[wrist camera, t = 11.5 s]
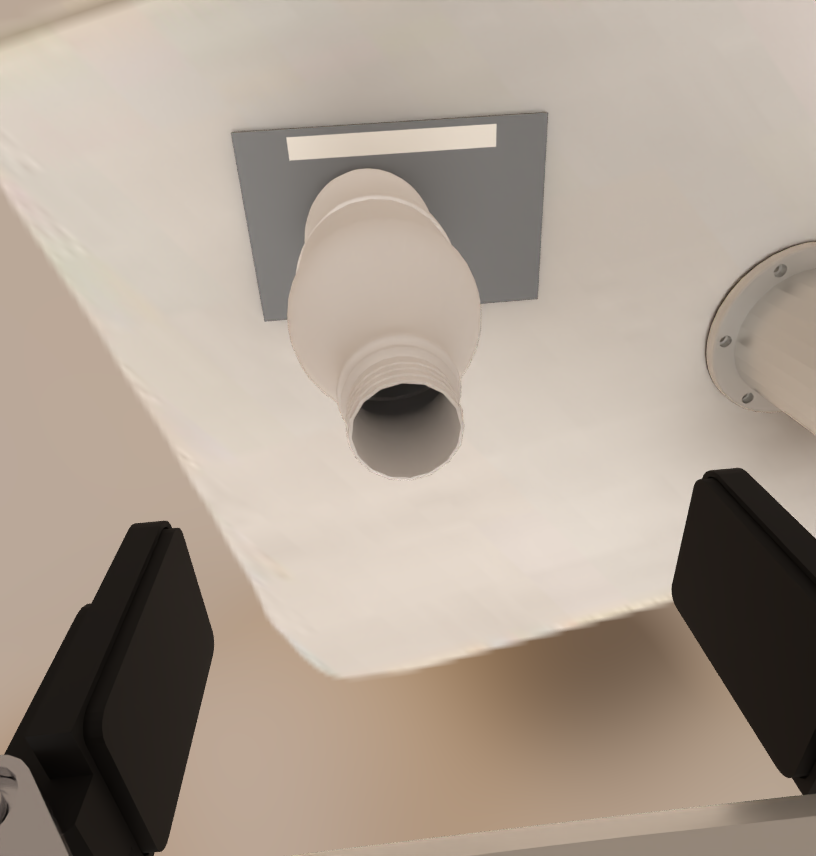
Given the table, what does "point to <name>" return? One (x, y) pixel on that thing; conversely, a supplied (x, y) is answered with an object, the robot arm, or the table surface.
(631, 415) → the table surface
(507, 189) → the board
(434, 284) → the water bottle
